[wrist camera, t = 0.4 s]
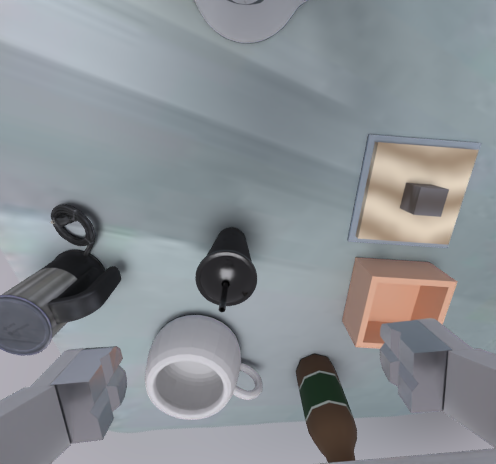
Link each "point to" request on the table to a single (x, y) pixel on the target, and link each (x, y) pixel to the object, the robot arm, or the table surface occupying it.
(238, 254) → the drinking cup
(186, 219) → the table surface
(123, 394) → the robot arm
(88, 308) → the milk frother
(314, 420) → the beer bottle
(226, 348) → the mug
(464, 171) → the birch lid
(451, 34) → the table surface
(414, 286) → the open square planter box
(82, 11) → the table surface
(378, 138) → the slate mat
